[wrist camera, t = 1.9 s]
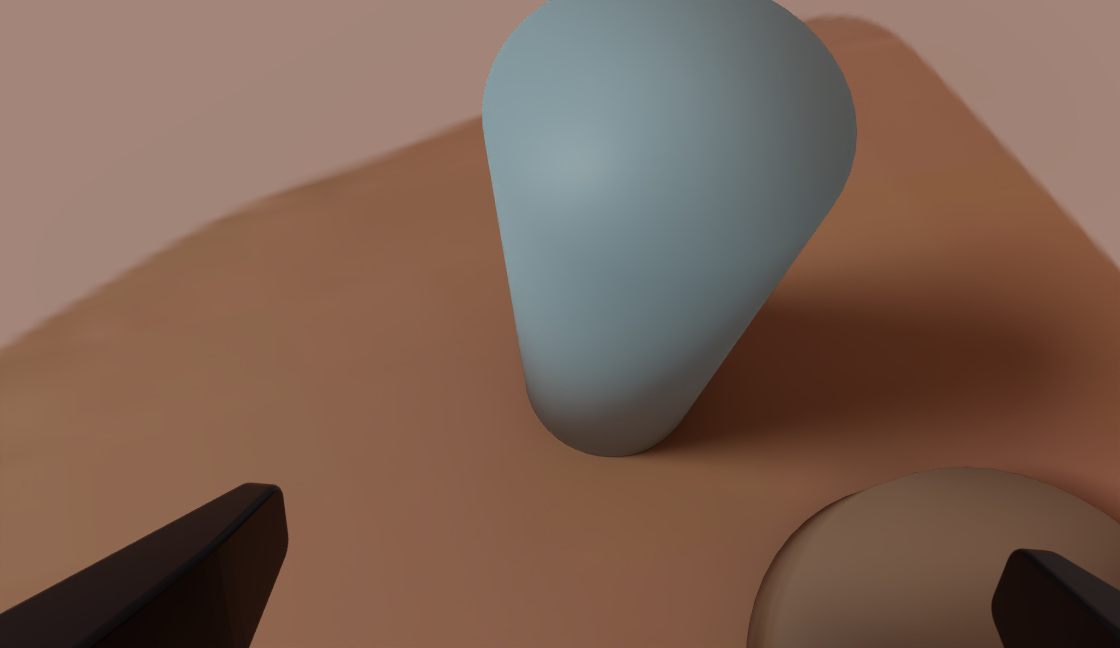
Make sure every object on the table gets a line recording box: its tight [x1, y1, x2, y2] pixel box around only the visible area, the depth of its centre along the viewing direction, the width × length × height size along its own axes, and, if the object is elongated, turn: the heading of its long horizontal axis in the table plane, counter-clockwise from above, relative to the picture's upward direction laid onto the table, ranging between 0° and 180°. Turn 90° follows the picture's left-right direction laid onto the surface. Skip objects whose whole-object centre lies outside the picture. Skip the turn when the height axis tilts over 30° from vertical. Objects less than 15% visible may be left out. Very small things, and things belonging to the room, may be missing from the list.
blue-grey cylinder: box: [482, 0, 857, 457], centre depth 16 cm, size 6×6×13 cm
